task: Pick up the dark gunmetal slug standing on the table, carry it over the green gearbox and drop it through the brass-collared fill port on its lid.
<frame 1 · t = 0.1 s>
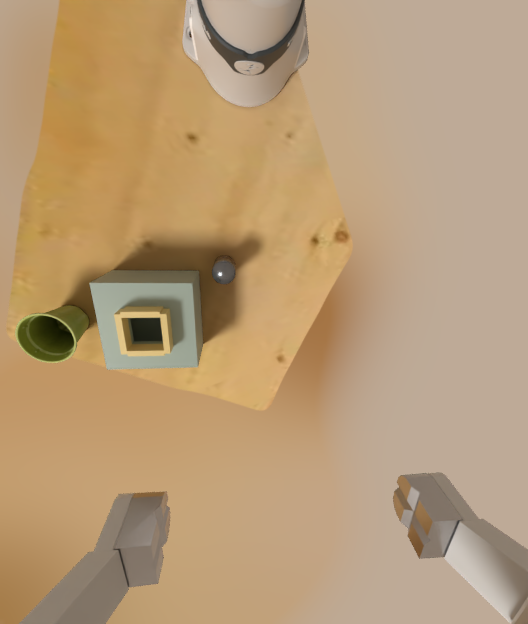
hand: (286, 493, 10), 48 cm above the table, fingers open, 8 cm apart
plant pot: (74, 318, 56), on the table
slug: (225, 265, 55), on the table
gearbox: (160, 309, 57), on the table
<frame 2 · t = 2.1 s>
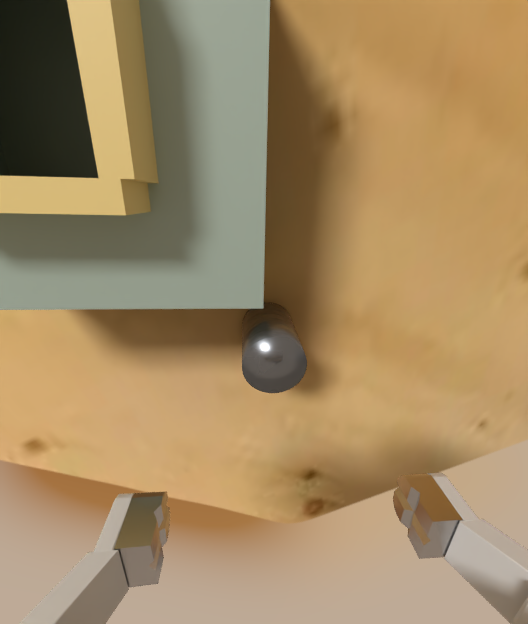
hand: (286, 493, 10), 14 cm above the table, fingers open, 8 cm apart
slug: (267, 325, 23), on the table
gearbox: (127, 135, 17), on the table
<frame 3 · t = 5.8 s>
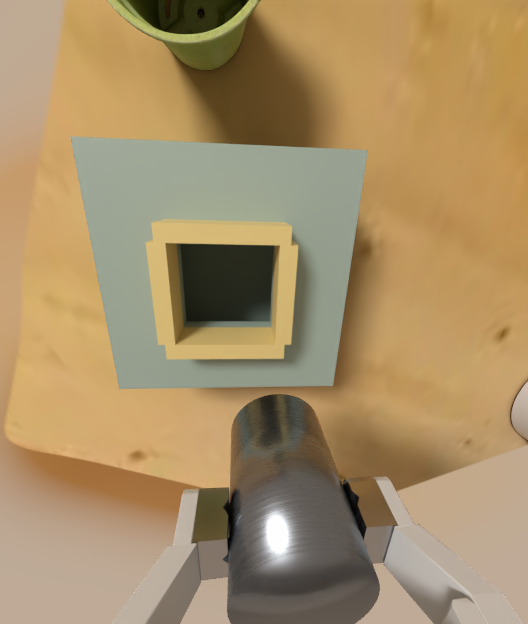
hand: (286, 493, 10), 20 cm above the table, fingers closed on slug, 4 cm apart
plant pot: (202, 21, 20), on the table
slug: (275, 430, 13), point 17 cm above the table, touching gripper
gearbox: (232, 257, 27), on the table
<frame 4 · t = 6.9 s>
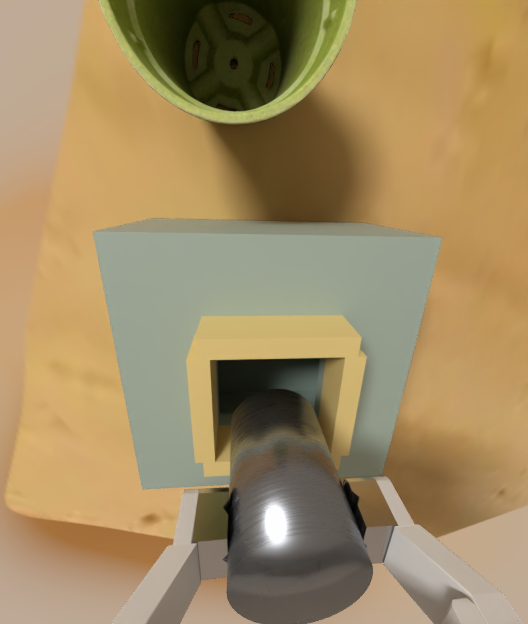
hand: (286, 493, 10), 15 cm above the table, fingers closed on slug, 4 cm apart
plant pot: (233, 70, 18), on the table
slug: (273, 424, 13), point 12 cm above the table, touching gripper
gearbox: (259, 318, 24), on the table
when the fingers open (12 cm above the table, at t = 7.8 s): slug drops 6 cm and tips over, resting on gearbox.
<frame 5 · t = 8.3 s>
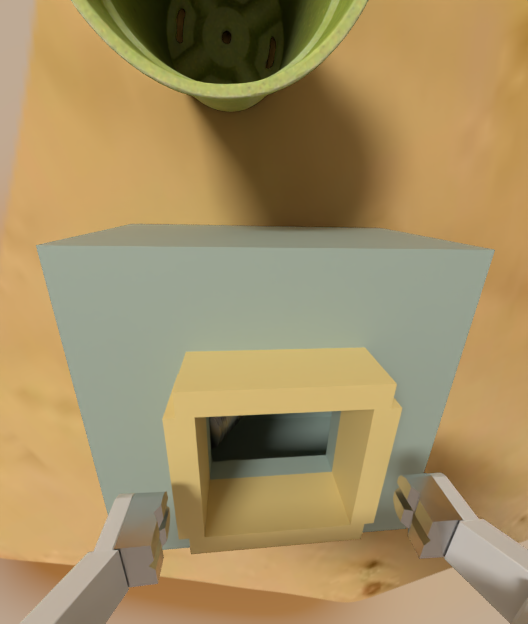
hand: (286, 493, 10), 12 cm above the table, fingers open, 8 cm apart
plant pot: (226, 47, 15), on the table
slug: (256, 357, 19), point 2 cm above the table, tilted 40°, touching gearbox
gearbox: (259, 337, 21), on the table
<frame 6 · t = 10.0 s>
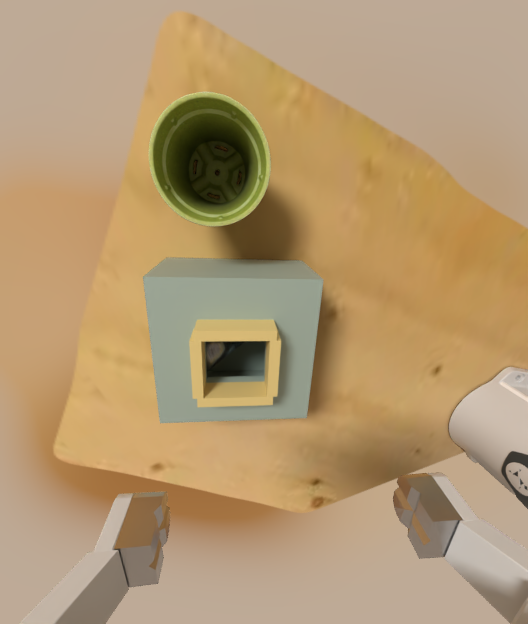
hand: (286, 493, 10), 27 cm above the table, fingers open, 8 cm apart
plant pot: (217, 174, 30), on the table
slug: (232, 330, 34), point 2 cm above the table, tilted 40°, touching gearbox
gearbox: (235, 321, 36), on the table
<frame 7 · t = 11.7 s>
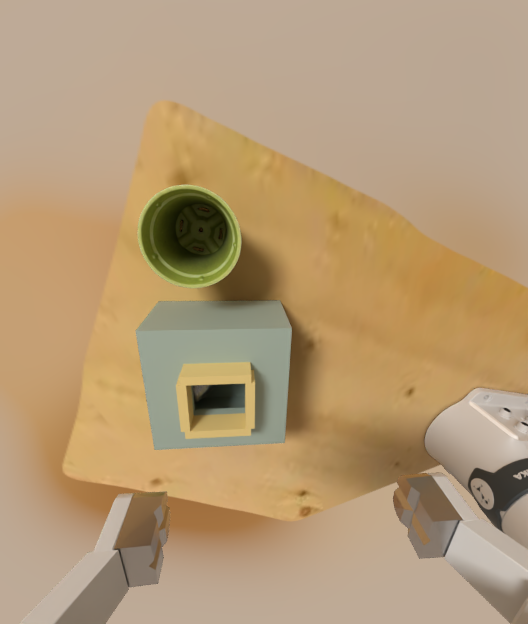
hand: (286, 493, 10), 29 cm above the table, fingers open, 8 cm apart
plant pot: (201, 230, 34), on the table
slug: (218, 364, 38), point 2 cm above the table, tilted 40°, touching gearbox
gearbox: (222, 353, 40), on the table
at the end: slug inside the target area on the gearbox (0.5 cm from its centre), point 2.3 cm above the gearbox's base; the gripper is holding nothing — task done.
